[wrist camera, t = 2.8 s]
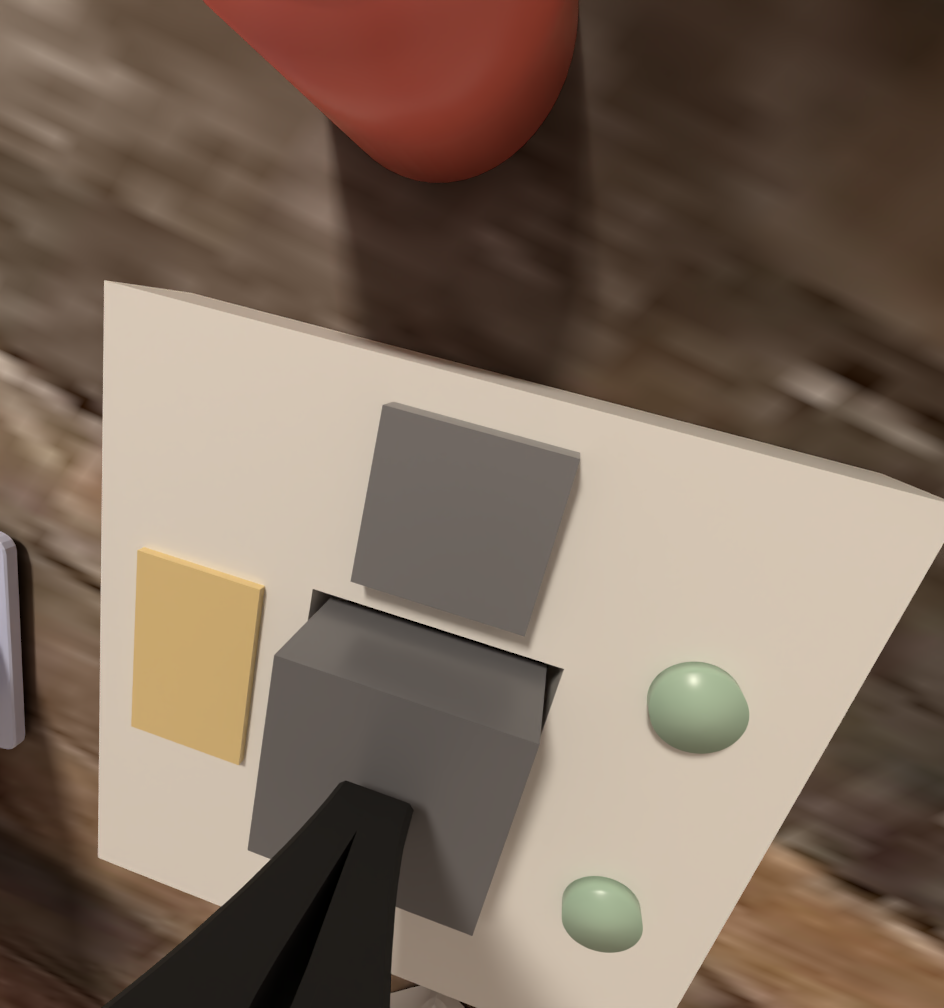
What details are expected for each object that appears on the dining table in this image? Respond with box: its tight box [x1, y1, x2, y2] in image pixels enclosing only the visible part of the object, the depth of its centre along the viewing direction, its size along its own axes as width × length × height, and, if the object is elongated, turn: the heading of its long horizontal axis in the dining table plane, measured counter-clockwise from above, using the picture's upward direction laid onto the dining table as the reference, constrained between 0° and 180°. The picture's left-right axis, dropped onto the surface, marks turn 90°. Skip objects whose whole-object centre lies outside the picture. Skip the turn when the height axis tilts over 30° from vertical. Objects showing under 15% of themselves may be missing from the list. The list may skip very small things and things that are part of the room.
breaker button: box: [248, 597, 547, 936], centre depth 11 cm, size 5×5×2 cm
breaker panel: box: [98, 280, 944, 1008], centre depth 13 cm, size 16×16×3 cm
